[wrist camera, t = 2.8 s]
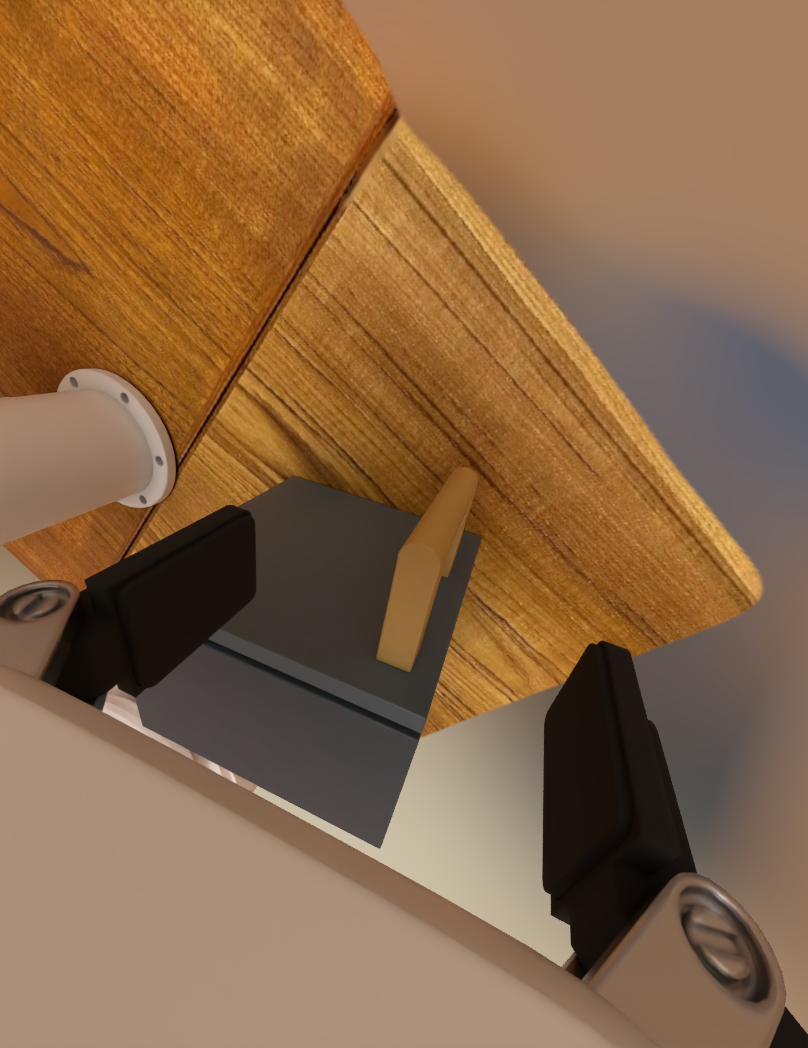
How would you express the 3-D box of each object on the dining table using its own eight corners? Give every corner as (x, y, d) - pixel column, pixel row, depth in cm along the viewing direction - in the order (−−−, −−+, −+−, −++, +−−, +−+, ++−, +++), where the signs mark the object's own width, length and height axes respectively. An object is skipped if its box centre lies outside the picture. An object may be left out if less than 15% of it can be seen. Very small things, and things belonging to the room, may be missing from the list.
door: (297, 395, 27) (70, 448, 14) (510, 454, 24) (471, 592, 11) (293, 486, 31) (110, 596, 18) (478, 547, 28) (421, 734, 15)
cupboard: (294, 488, 31) (107, 601, 18) (477, 549, 28) (418, 741, 15) (290, 582, 36) (141, 726, 23) (445, 642, 33) (380, 849, 20)
